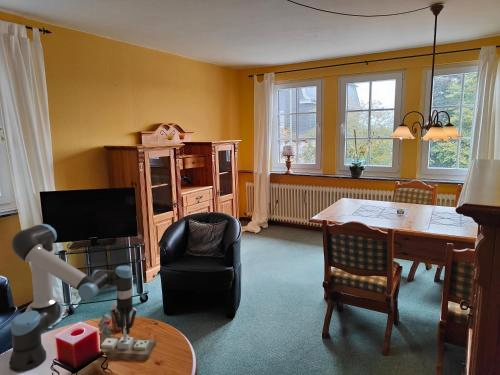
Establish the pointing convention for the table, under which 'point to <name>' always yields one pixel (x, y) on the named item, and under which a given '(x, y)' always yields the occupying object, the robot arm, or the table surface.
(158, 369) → the table surface
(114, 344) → the die
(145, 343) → the die
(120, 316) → the smoothie
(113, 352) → the board
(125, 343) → the die
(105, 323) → the figurine
